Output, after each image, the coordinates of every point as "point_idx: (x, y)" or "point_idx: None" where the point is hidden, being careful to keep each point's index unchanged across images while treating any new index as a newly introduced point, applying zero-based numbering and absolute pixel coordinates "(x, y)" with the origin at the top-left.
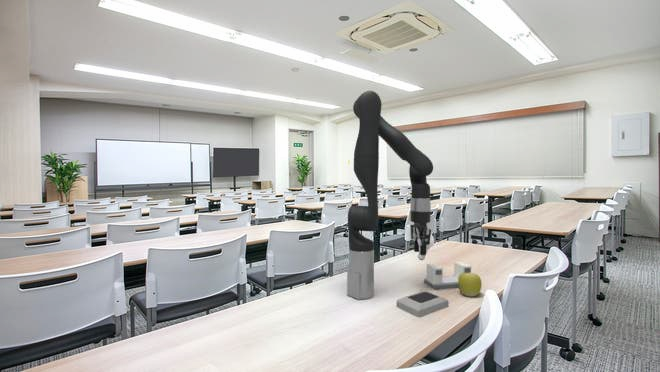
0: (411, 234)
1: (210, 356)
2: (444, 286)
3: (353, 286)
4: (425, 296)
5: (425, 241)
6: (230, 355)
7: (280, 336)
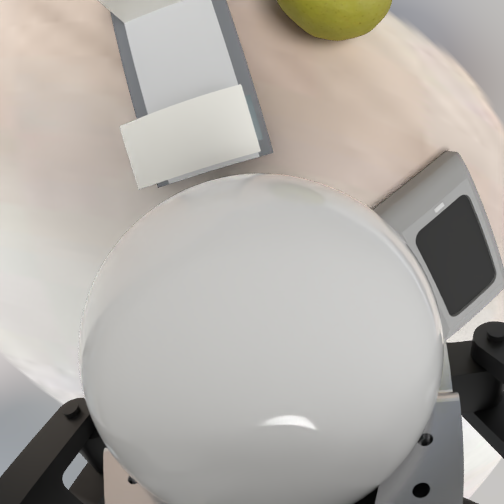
0: (91, 500)
1: (470, 487)
2: (256, 94)
3: None
4: (450, 247)
5: (500, 392)
6: (477, 478)
7: (464, 467)
